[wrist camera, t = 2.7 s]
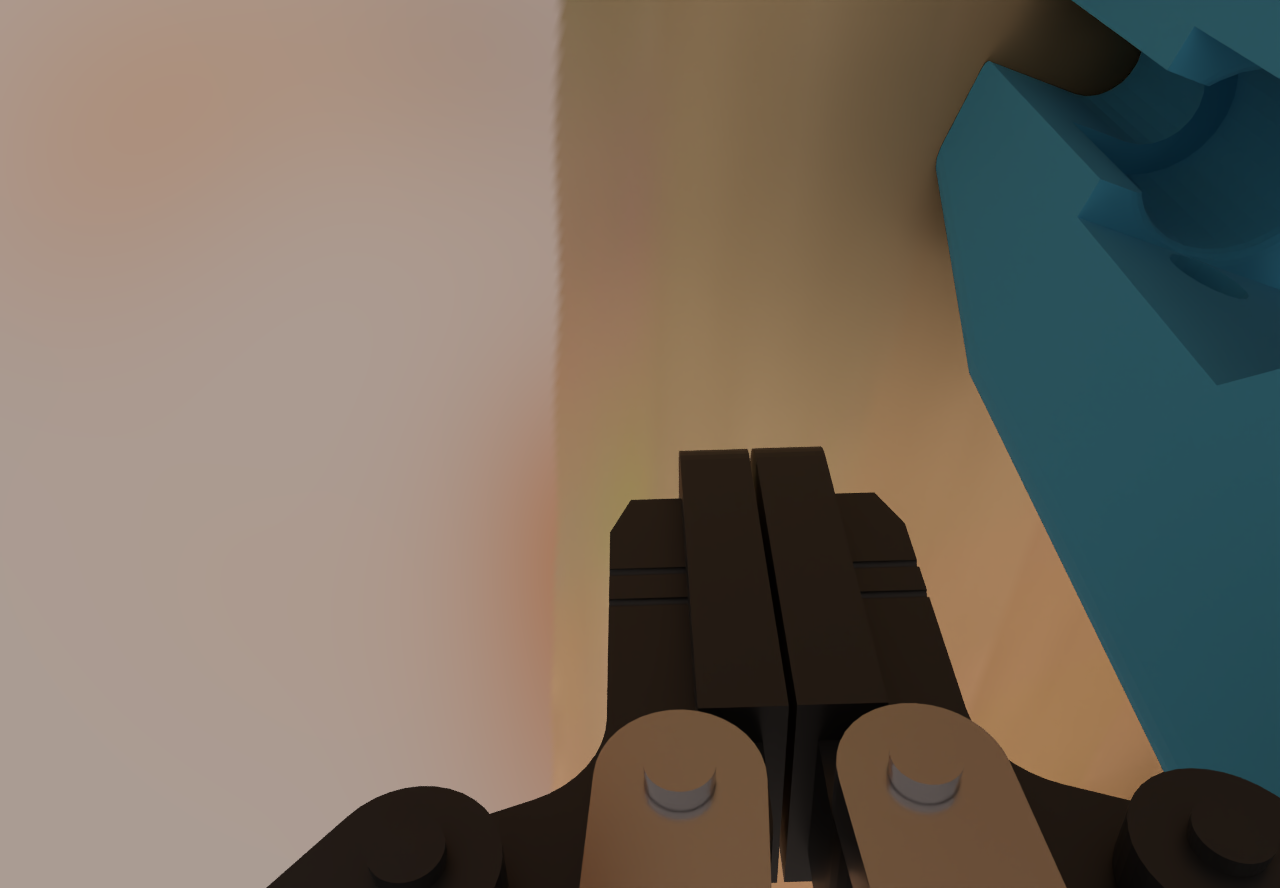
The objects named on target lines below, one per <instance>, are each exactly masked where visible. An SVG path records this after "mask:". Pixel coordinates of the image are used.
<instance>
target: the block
mask: <svg viewBox="0 0 1280 888" xmlns="http://www.w3.org/2000/svg"><path fill="white" fill-rule="evenodd" d="M1072 1H1073V2H1075V3H1076V4H1078V5H1079V6H1080V7H1082V8H1083V9H1084V10H1086V11H1087V12H1088V13H1090V14H1091V15H1093V16H1094V17H1095V18H1097V19H1098V20H1099V21H1101V22H1102V23H1103V24H1105V25H1106V26H1108V27H1109V28H1110V29H1112V30H1113V31H1114V32H1116V33H1117V34H1118V35H1120V36H1121V37H1123V38H1124V39H1125V40H1127V41H1128V42H1129V43H1131V44H1132V45H1134V46H1135V47H1136V48H1138V49H1139V50H1140V51H1142V52H1141V55H1140V57H1139V60H1138V62H1137V64H1136V66H1135V67H1134V69H1133V70H1132V72H1131V73H1130V75H1129V76H1128V77H1127V78H1126V79H1125V80H1124V81H1123V82H1122V83H1120V84H1119V85H1117V86H1116V87H1114V88H1113V89H1111V90H1109V91H1107V92H1104V93H1102V94H1099V95H1093V96H1082V95H1077V94H1074V93H1071V92H1068V91H1066V90H1063V89H1061V88H1058V87H1055V86H1053V85H1050V84H1048V83H1045V82H1042V81H1040V80H1037V79H1035V78H1032V77H1029V76H1027V75H1024V74H1022V73H1019V72H1016V71H1014V70H1011V69H1009V68H1006V67H1003V66H1001V65H998V64H996V63H993V62H990V61H988V62H986V63H985V64H984V66H983V67H982V69H981V71H980V73H979V75H978V77H977V79H976V81H975V83H974V84H973V86H972V88H971V90H970V92H969V94H968V96H967V98H966V100H965V102H964V104H963V106H962V108H961V109H960V111H959V113H958V115H957V117H956V119H955V121H954V123H953V125H952V127H951V129H950V131H949V132H948V134H947V136H946V138H945V140H944V142H943V144H942V146H941V148H940V151H939V153H938V156H937V162H936V172H937V179H938V185H939V191H940V197H941V203H942V209H943V215H944V221H945V228H946V234H947V240H948V246H949V252H950V258H951V264H952V270H953V276H954V283H955V289H956V295H957V301H958V307H959V313H960V319H961V325H962V331H963V338H964V344H965V350H966V356H967V362H968V368H969V373H970V375H971V378H972V380H973V382H974V384H975V386H976V388H977V390H978V392H979V394H980V396H981V398H982V400H983V402H984V404H985V406H986V408H987V410H988V412H989V414H990V416H991V419H992V421H993V423H994V425H995V427H996V429H997V431H998V433H999V435H1000V437H1001V439H1002V441H1003V443H1004V445H1005V447H1006V449H1007V451H1008V453H1009V455H1010V457H1011V459H1012V462H1013V464H1014V466H1015V468H1016V470H1017V472H1018V474H1019V476H1020V478H1021V480H1022V482H1023V484H1024V486H1025V488H1026V490H1027V492H1028V494H1029V496H1030V498H1031V500H1032V502H1033V505H1034V507H1035V509H1036V511H1037V513H1038V515H1039V517H1040V519H1041V521H1042V523H1043V525H1044V527H1045V529H1046V531H1047V533H1048V535H1049V537H1050V539H1051V541H1052V543H1053V545H1054V548H1055V550H1056V552H1057V554H1058V556H1059V558H1060V560H1061V562H1062V564H1063V566H1064V568H1065V570H1066V572H1067V574H1068V576H1069V578H1070V580H1071V582H1072V584H1073V586H1074V589H1075V591H1076V593H1077V595H1078V597H1079V599H1080V601H1081V603H1082V605H1083V607H1084V609H1085V611H1086V613H1087V615H1088V617H1089V619H1090V621H1091V623H1092V625H1093V627H1094V629H1095V632H1096V634H1097V636H1098V638H1099V640H1100V642H1101V644H1102V646H1103V648H1104V650H1105V652H1106V654H1107V656H1108V658H1109V660H1110V662H1111V664H1112V666H1113V668H1114V670H1115V672H1116V675H1117V677H1118V679H1119V681H1120V683H1121V685H1122V687H1123V689H1124V691H1125V693H1126V695H1127V697H1128V699H1129V701H1130V703H1131V705H1132V707H1133V709H1134V711H1135V713H1136V716H1137V718H1138V720H1139V722H1140V724H1141V726H1142V728H1143V730H1144V732H1145V734H1146V736H1147V738H1148V740H1149V742H1150V744H1151V746H1152V748H1153V750H1154V752H1155V754H1156V756H1157V759H1158V761H1159V763H1160V765H1161V767H1162V769H1163V771H1164V772H1166V771H1170V770H1175V769H1185V768H1199V769H1210V770H1215V771H1220V772H1225V773H1228V774H1231V775H1234V776H1238V777H1241V778H1243V779H1246V780H1248V781H1250V782H1252V783H1255V784H1257V785H1259V786H1261V787H1263V788H1264V789H1266V790H1268V791H1270V792H1271V793H1273V794H1275V795H1276V796H1278V797H1280V0H1072Z"/></svg>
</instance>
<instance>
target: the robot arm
mask: <svg viewBox="0 0 1280 888" xmlns="http://www.w3.org/2000/svg"><path fill="white" fill-rule="evenodd" d="M926 591H927V589H926V586H925V583H924V580H923V577H922V574H921V571H920V568H919V567H917V559H916V556H915V553H914V550H913V547H912V544H911V541H910V538H909V535H908V532H907V529H906V526H905V523H904V522H903V521H902V520H901V519H900V518H899V517H898V516H897V515H896V514H895V513H894V512H893V511H892V510H891V509H890V508H889V507H888V506H887V505H886V504H885V503H884V502H883V501H882V500H881V499H880V498H879V497H878V496H877V495H876V494H875V493H841V494H835V492H834V488H833V484H832V480H831V476H830V472H829V469H828V465H827V461H826V457H825V453H824V450H823V448H822V447H788V448H755V449H752V451H751V458H749V453H748V450H747V449H731V450H697V451H679V499H649V500H631V501H630V502H629V504H628V505H627V507H626V509H625V510H624V512H623V513H622V515H621V516H620V518H619V519H618V521H617V523H616V524H615V526H614V527H613V529H612V530H611V532H610V577H609V633H608V688H607V723H606V731H605V734H604V737H603V740H602V743H601V745H600V747H599V749H598V751H597V753H596V755H595V756H594V757H593V759H592V760H591V761H590V763H589V764H588V765H587V767H586V768H585V769H583V770H582V771H581V772H580V773H579V774H578V775H577V776H576V777H575V778H574V779H572V780H571V781H570V782H568V783H567V784H565V785H564V786H562V787H561V788H559V789H557V790H555V791H553V792H551V793H550V794H547V795H545V796H542V797H540V798H537V799H535V800H532V801H529V802H525V803H522V804H519V805H516V806H513V807H510V808H507V809H504V810H501V811H498V812H495V813H491V814H489V813H488V812H487V810H486V809H485V808H484V807H483V806H481V805H480V804H479V803H478V802H476V801H475V800H474V799H472V798H470V797H469V796H467V795H465V794H463V793H460V792H457V791H454V790H451V789H447V788H441V787H435V786H418V787H411V788H404V789H400V790H396V791H393V792H389V793H387V794H384V795H382V796H379V797H377V798H375V799H373V800H371V801H370V802H368V803H366V804H364V805H363V806H361V807H359V808H358V809H357V810H355V811H354V812H353V813H352V814H350V815H349V816H348V817H347V818H345V819H344V820H343V821H342V822H341V823H340V824H339V825H337V826H336V827H335V828H334V829H333V830H332V831H331V832H329V833H328V834H327V835H326V836H325V837H324V838H323V839H321V840H320V841H319V842H318V843H317V844H316V845H315V846H313V847H312V848H311V849H310V850H309V851H308V852H307V853H305V854H304V855H303V856H302V857H301V858H300V859H299V860H298V861H296V862H295V863H294V864H293V865H292V866H291V867H290V868H288V869H287V870H286V871H285V872H284V873H283V874H281V875H280V877H278V878H277V879H276V880H275V881H274V882H272V883H271V884H270V885H269V886H268V887H267V888H771V883H777V874H778V859H779V846H780V854H781V861H782V869H783V877H784V882H799V881H812V883H813V888H1280V797H1278V796H1276V795H1275V794H1273V793H1271V792H1270V791H1268V790H1266V789H1264V788H1263V787H1261V786H1259V785H1257V784H1255V783H1252V782H1250V781H1248V780H1246V779H1243V778H1241V777H1238V776H1234V775H1231V774H1228V773H1225V772H1220V771H1215V770H1210V769H1199V768H1185V769H1175V770H1170V771H1166V772H1162V773H1160V774H1158V775H1156V776H1153V777H1151V778H1150V779H1148V780H1147V781H1146V782H1144V783H1143V784H1142V785H1141V786H1140V787H1139V788H1138V789H1137V791H1136V792H1135V793H1134V795H1133V797H1132V799H1131V801H1130V800H1126V799H1121V798H1117V797H1113V796H1109V795H1105V794H1101V793H1097V792H1092V791H1088V790H1084V789H1080V788H1076V787H1072V786H1068V785H1064V784H1060V783H1057V782H1054V781H1050V780H1047V779H1044V778H1042V777H1040V776H1037V775H1035V774H1032V773H1030V772H1028V771H1026V770H1025V769H1023V768H1021V767H1019V766H1017V765H1015V764H1014V763H1012V762H1011V761H1010V760H1008V758H1007V756H1006V754H1005V752H1004V751H1003V749H1002V748H1001V747H1000V745H999V744H998V743H997V742H996V740H995V739H994V738H993V737H992V736H991V735H990V734H988V733H987V732H986V731H985V730H984V729H983V728H981V727H980V726H979V725H977V724H976V723H974V722H973V721H971V719H970V717H969V714H968V712H967V710H966V707H965V704H964V701H963V698H962V695H961V692H960V689H959V686H958V683H957V680H956V677H955V674H954V671H953V668H952V665H951V662H950V659H949V656H948V653H947V650H946V647H945V644H944V641H943V637H942V634H941V631H940V628H939V625H938V622H937V619H936V616H935V613H934V610H933V607H932V604H931V601H930V598H929V597H927V593H926Z"/></svg>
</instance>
